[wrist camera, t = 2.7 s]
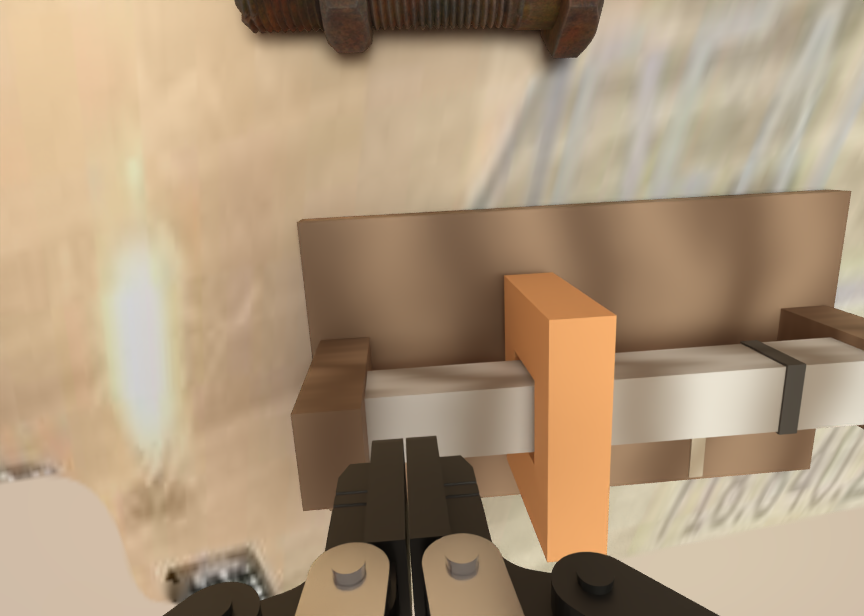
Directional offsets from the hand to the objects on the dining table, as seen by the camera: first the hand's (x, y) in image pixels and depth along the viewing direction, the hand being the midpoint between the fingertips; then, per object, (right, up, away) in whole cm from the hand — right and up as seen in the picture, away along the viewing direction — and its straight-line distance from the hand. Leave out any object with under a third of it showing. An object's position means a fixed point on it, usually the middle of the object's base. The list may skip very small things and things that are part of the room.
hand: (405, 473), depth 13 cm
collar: (+6, +1, +15) cm, 16 cm away
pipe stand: (+8, +2, +18) cm, 20 cm away
